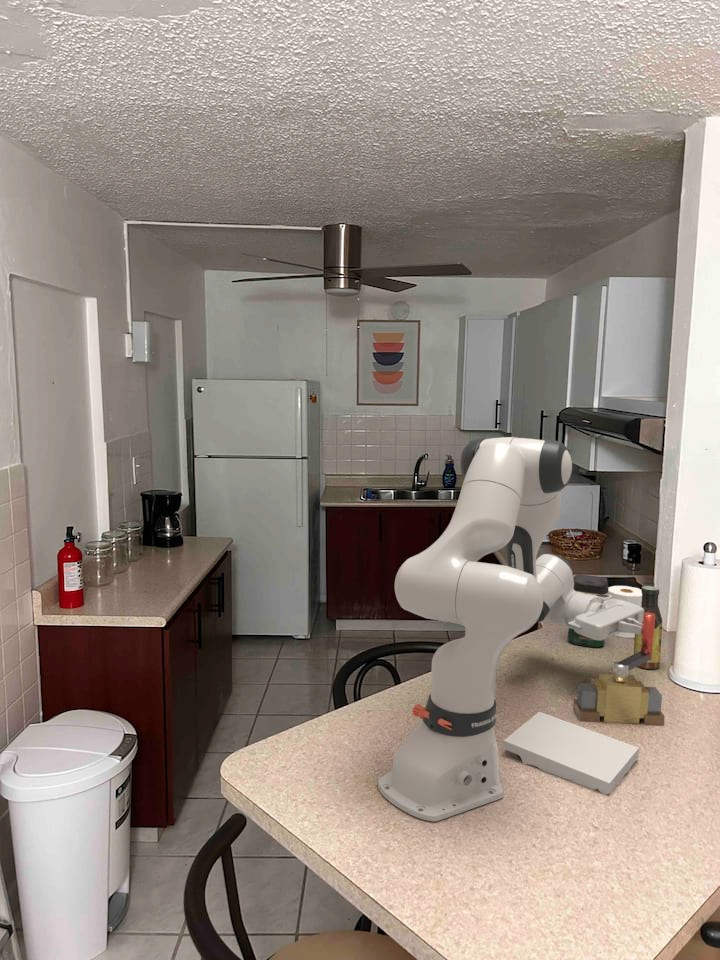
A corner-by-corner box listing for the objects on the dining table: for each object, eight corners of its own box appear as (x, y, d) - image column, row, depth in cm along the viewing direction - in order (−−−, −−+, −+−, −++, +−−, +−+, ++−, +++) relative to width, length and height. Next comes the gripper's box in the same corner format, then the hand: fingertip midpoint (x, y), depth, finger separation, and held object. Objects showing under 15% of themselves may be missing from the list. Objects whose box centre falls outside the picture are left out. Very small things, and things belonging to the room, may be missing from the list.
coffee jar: (565, 644, 189) (569, 577, 187) (569, 635, 197) (573, 570, 194) (603, 650, 186) (608, 582, 183) (606, 640, 193) (610, 574, 190)
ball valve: (663, 725, 145) (666, 688, 144) (579, 720, 146) (581, 684, 145) (654, 711, 151) (656, 676, 150) (573, 707, 152) (575, 672, 151)
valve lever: (623, 683, 146) (627, 628, 144) (609, 678, 148) (613, 624, 146) (654, 666, 154) (658, 614, 153) (641, 662, 157) (645, 611, 155)
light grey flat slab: (637, 764, 132) (537, 726, 144) (639, 747, 131) (539, 711, 144) (607, 801, 120) (502, 757, 133) (609, 783, 120) (503, 740, 132)
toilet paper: (643, 628, 203) (646, 588, 201) (642, 640, 193) (645, 598, 191) (606, 623, 207) (609, 583, 205) (603, 634, 197) (606, 593, 196)
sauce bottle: (663, 670, 173) (669, 592, 170) (638, 670, 173) (643, 591, 170) (653, 660, 179) (659, 584, 177) (628, 659, 180) (634, 584, 177)
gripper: (562, 609, 158) (620, 626, 148) (609, 592, 171) (666, 606, 161) (561, 636, 159) (618, 655, 149) (608, 617, 172) (663, 633, 162)
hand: (643, 630), depth 155 cm, fingers closed, pressing on valve lever
